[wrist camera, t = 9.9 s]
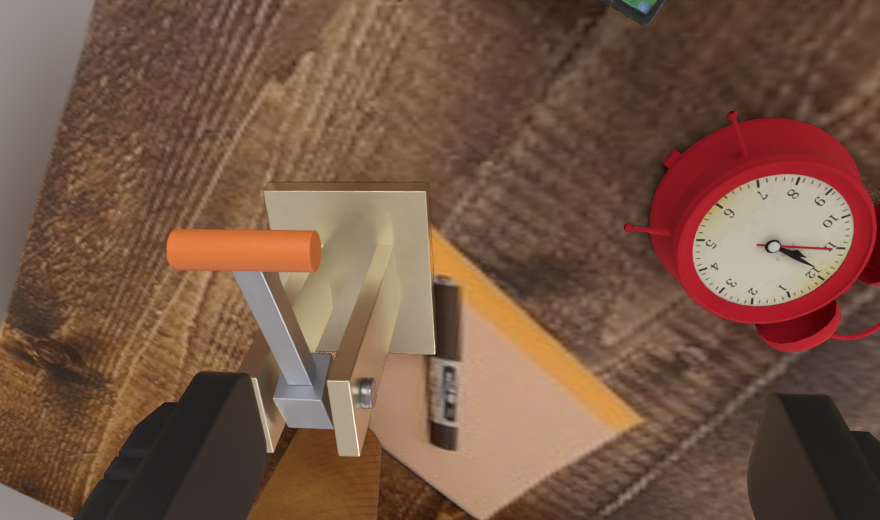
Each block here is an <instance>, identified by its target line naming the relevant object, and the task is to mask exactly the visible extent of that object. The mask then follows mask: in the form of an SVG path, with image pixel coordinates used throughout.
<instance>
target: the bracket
mask: <svg viewBox="0 0 880 520" xmlns="http://www.w3.org/2000/svg"><path fill="white" fill-rule="evenodd" d="M263 193H264V198H265V203H266V208H267V214H268V219H269V224H270V230H315V231H317V232H318V234H319V236H320V240H321V261H320V266H319V268H318V270H317V272H314V273H309V272H279V277H280V281H281V283H282V285H283V288H284V290H285V292H286V295H287V297H288V300H289V302H290V304H291V307H292V309H293V312H294V314H295V316H296V319H297V321H298V324H299V326H300V328H301V331H302V333H303V336H304V338H305V340H306V343H307V345H308V348H309V350H310V352H311V353H315V351H328V352H337V354H336V357H335V360H334V362H333V365H332V368H331V370H330V373H329V376H328V379H327V387H328V393H329V399H330V405H331V411H332V417H333V424H334V430H335V436H336V442H337V448H338V454H339V456H354V457H359V456H360V454H361V450H362V447H363V443H364V439H365V435H366V432H367V428H368V424H369V420H370V417H371V413H372V409H373V408H374V406H375V403H376V396H377V390H378V387H379V383H380V379H381V375H382V372H383V368H384V364H385V360H386V357H387V353H395V354H428V355H435V354H436V348H437V327H436V309H435V291H434V273H433V255H432V237H431V218H430V200H429V183H359V182H270V183H269V184H268V185H267V187H266V188H265V189H264V191H263ZM238 373H247V374H248V375H249V376H250V378H251V380H252V383H253V387H254V391H255V396H256V400H257V404H258V408H259V413H260V417H261V421H262V425H263V430H264V434H265V438H266V445H267V453H273V452H274V450H275V448H276V445H277V443H278V440H279V438H280V435H281V433H282V431H283V428H284V426H285V423H286V422H285V420H284V419H283V417H282V415H281V413H280V411H279V410H278V408H277V406H276V404H275V402H274V401H273V396H274V392H275V388H276V384H277V380H278V376H279V373H280V367H279V365H278V363H277V361H276V359H275V357H274V355H273V353H272V351H271V349H270V347H269V345H268V343H267V341H266V339H265V337H264V335H263V333H262V331H261V330H260V331H259V333H258V335H257V337H256V339H255V341H254V342H253V344H252V346H251V348H250V350H249V352H248V353H247V355H246V357H245V359H244V361H243V363H242V364H241V366H240V368H239V370H238Z"/></svg>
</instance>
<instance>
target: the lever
mask: <svg viewBox="0 0 880 520" xmlns="http://www.w3.org/2000/svg"><path fill="white" fill-rule="evenodd" d="M167 259H168V262H169V264H170V266H171V267H172V268H173V269H175V270H193V271H232V273H233V275H234V277H235V279H236V281H237V283H238V285H239V287H240V289H241V291H242V293H243V295H244V297H245V299H246V301H247V303H248V305H249V307H250V309H251V311H252V313H253V315H254V317H255V319H256V321H257V323H258V325H259V327H260V329H261V331H262V333H263V335H264V337H265V339H266V341H267V343H268V345H269V347H270V349H271V351H272V353H273V355H274V357H275V359H276V361H277V363H278V365H279V367H280V373H279V376H278V380H277V384H276V388H275V392H274V396H273V401H274V402H275V404H276V406H277V408H278V410H279V411H280V413H281V415H282V417H283V419H284V420H285V422H286V424H287V426H288V427H291V428H314V429H334V424H333V417H332V411H331V405H330V399H329V393H328V387H327V379H328V376H329V373H330V370H331V368H332V365H333V362H334V359H333V357H332V354H329V353H311V352H310V350H309V348H308V345H307V343H306V340H305V338H304V336H303V333H302V331H301V328H300V326H299V324H298V321H297V319H296V316H295V314H294V312H293V309H292V307H291V304H290V302H289V300H288V297H287V295H286V292H285V290H284V288H283V285H282V283H281V281H280V278H279V276H278V273H277V272H309V273H314V272H317V270H318V268H319V266H320V261H321V240H320V236H319V234H318V232H317V231H315V230H228V229H175V230H173V231H172V232H171V234H170V235H169V238H168V241H167Z"/></svg>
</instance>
